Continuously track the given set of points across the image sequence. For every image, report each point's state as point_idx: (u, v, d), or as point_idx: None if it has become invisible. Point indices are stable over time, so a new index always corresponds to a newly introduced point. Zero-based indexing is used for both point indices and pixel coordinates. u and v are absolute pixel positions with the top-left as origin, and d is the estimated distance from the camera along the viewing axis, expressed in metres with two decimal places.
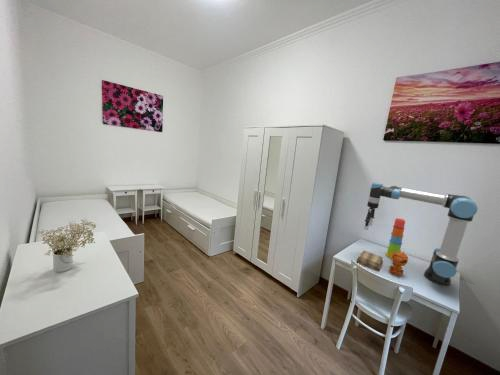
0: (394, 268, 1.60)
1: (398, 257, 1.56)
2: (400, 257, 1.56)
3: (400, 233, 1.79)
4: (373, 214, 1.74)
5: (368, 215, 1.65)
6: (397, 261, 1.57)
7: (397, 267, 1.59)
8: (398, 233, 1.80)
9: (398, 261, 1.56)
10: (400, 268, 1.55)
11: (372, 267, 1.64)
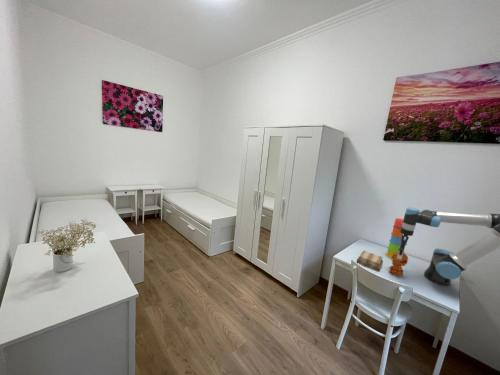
0: (394, 268, 1.60)
1: None
2: None
3: (400, 233, 1.79)
4: None
5: (402, 244, 1.50)
6: (397, 261, 1.57)
7: (397, 267, 1.59)
8: (398, 233, 1.80)
9: (398, 261, 1.56)
10: (400, 268, 1.55)
11: (372, 267, 1.64)
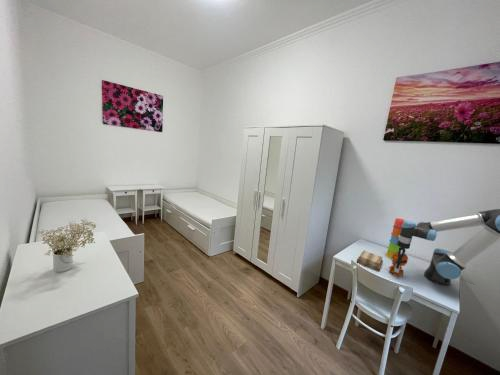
0: (394, 268, 1.60)
1: None
2: None
3: None
4: None
5: (399, 257, 1.53)
6: None
7: None
8: (398, 233, 1.80)
9: None
10: (400, 268, 1.55)
11: (372, 267, 1.64)
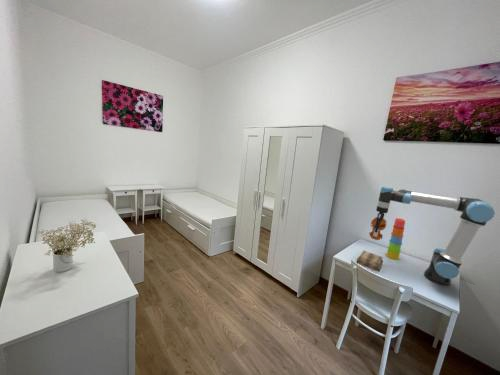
0: (373, 233, 1.67)
1: None
2: None
3: (400, 233, 1.79)
4: None
5: (377, 221, 1.59)
6: None
7: None
8: (398, 233, 1.80)
9: None
10: (379, 232, 1.62)
11: (372, 267, 1.64)
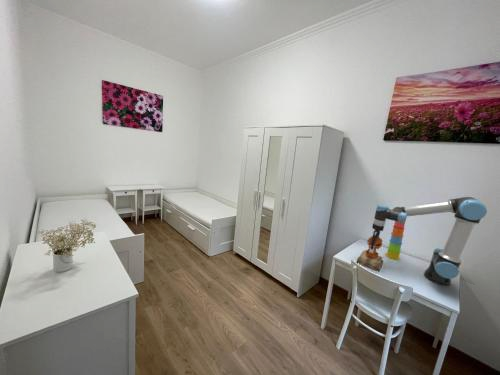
0: None
1: None
2: None
3: (400, 233, 1.79)
4: None
5: (373, 238, 1.62)
6: None
7: None
8: (398, 233, 1.80)
9: None
10: (374, 251, 1.65)
11: (372, 267, 1.64)
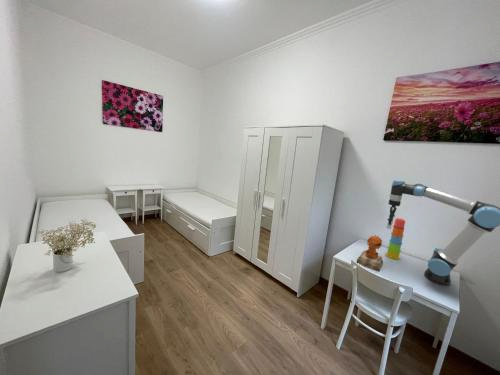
0: (369, 251, 1.70)
1: (373, 240, 1.67)
2: (374, 240, 1.66)
3: (400, 233, 1.79)
4: None
5: (391, 213, 1.59)
6: (372, 244, 1.67)
7: (372, 250, 1.69)
8: (398, 233, 1.80)
9: (373, 244, 1.66)
10: (374, 251, 1.65)
11: (372, 267, 1.64)
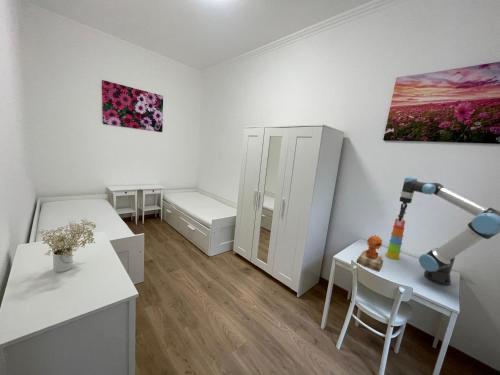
0: (369, 251, 1.70)
1: (373, 240, 1.67)
2: (374, 240, 1.66)
3: (400, 233, 1.79)
4: None
5: (402, 210, 1.62)
6: (372, 244, 1.67)
7: (372, 250, 1.69)
8: (398, 233, 1.80)
9: (373, 244, 1.66)
10: (374, 251, 1.65)
11: (372, 267, 1.64)
